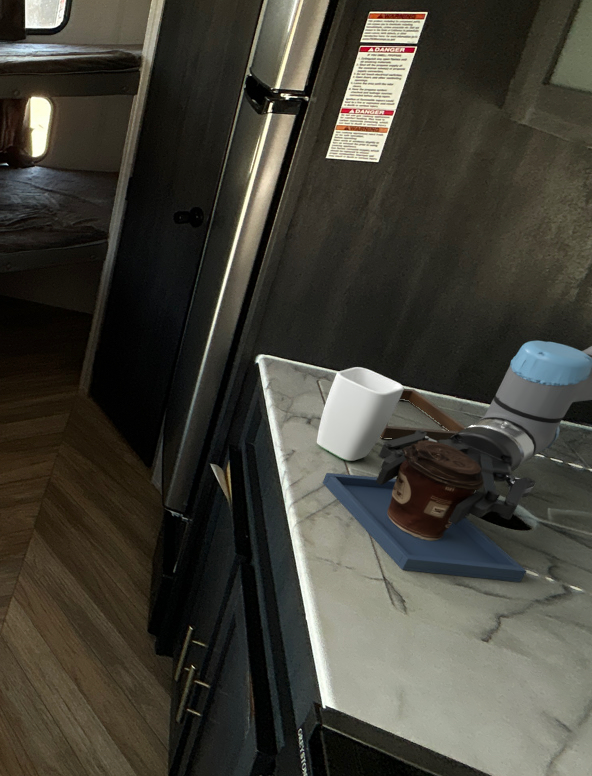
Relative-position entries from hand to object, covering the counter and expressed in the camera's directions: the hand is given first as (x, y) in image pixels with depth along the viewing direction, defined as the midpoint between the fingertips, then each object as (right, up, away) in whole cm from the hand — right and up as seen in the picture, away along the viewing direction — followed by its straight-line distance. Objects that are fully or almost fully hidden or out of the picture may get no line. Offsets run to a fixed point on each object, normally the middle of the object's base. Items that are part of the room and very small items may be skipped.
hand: (417, 494), depth 90 cm
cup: (+8, 0, +22) cm, 23 cm away
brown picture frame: (+26, +4, +30) cm, 40 cm away
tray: (+4, -7, +5) cm, 10 cm away
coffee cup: (+4, -6, +5) cm, 9 cm away
